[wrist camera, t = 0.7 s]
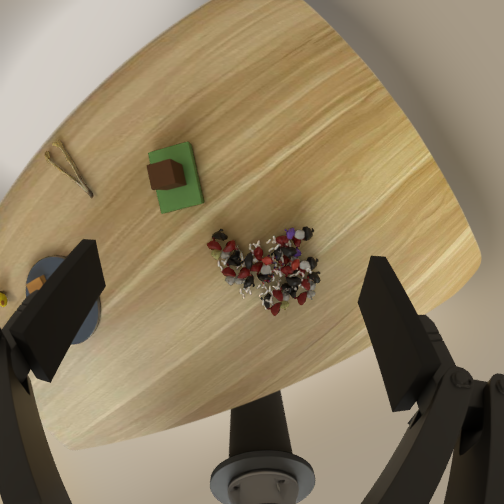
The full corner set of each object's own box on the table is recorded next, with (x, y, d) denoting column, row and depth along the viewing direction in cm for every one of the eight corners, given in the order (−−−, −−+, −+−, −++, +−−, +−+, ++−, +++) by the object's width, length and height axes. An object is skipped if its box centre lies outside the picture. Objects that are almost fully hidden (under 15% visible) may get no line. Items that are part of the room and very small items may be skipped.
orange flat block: (53, 295, 46) (49, 298, 45) (39, 302, 46) (35, 305, 45) (43, 274, 46) (39, 276, 44) (30, 282, 46) (25, 284, 44)
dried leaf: (96, 192, 43) (101, 192, 45) (54, 136, 41) (60, 138, 43) (79, 211, 43) (84, 210, 45) (38, 155, 41) (44, 156, 43)
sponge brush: (204, 202, 46) (194, 204, 36) (165, 212, 46) (145, 217, 36) (191, 144, 44) (177, 130, 34) (152, 155, 44) (130, 145, 34)
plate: (113, 336, 49) (110, 339, 48) (47, 345, 49) (44, 348, 48) (84, 245, 46) (80, 247, 45) (19, 265, 46) (15, 267, 45)
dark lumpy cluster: (306, 204, 45) (309, 207, 41) (328, 294, 48) (332, 306, 44) (208, 231, 47) (200, 236, 43) (235, 316, 50) (231, 330, 46)
